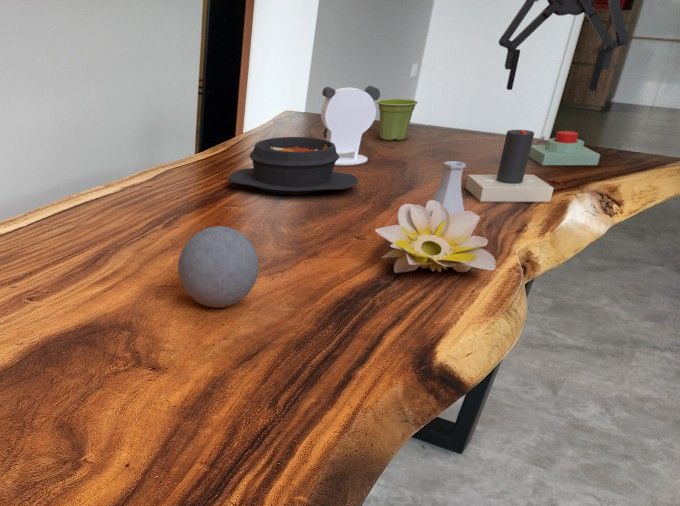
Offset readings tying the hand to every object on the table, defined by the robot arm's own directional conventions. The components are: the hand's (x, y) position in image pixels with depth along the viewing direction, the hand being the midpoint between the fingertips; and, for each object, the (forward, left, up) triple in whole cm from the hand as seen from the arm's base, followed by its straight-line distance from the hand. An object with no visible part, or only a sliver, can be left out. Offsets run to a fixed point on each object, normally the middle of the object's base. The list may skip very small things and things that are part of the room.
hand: (549, 89), depth 131 cm
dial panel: (+7, +9, -17) cm, 20 cm away
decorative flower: (+30, +51, -17) cm, 61 cm away
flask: (+23, +29, -17) cm, 41 cm away
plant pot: (+18, -45, -17) cm, 51 cm away
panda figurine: (+33, -21, -17) cm, 42 cm away
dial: (+7, +9, -14) cm, 18 cm away
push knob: (-13, -20, -13) cm, 27 cm away
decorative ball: (+59, +64, -17) cm, 89 cm away
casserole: (+46, +5, -17) cm, 49 cm away
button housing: (-13, -20, -17) cm, 29 cm away
